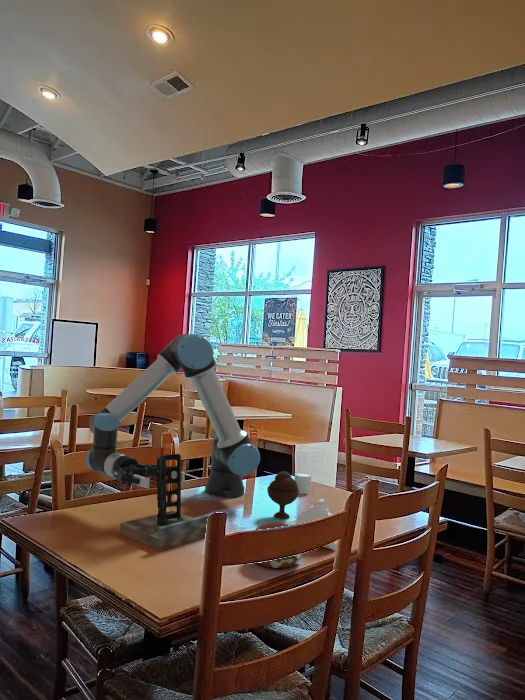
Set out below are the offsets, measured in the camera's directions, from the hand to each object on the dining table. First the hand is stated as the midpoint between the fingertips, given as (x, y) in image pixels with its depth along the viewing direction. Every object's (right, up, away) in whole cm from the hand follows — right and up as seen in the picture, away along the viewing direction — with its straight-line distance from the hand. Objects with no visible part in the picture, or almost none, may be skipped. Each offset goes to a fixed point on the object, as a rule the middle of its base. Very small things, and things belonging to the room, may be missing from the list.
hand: (166, 480), depth 163 cm
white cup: (+44, -19, +59) cm, 76 cm away
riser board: (0, -16, -1) cm, 16 cm away
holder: (0, -13, -1) cm, 13 cm away
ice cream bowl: (+35, -18, +24) cm, 46 cm away
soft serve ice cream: (+43, -19, 0) cm, 47 cm away
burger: (+31, -18, -16) cm, 40 cm away
